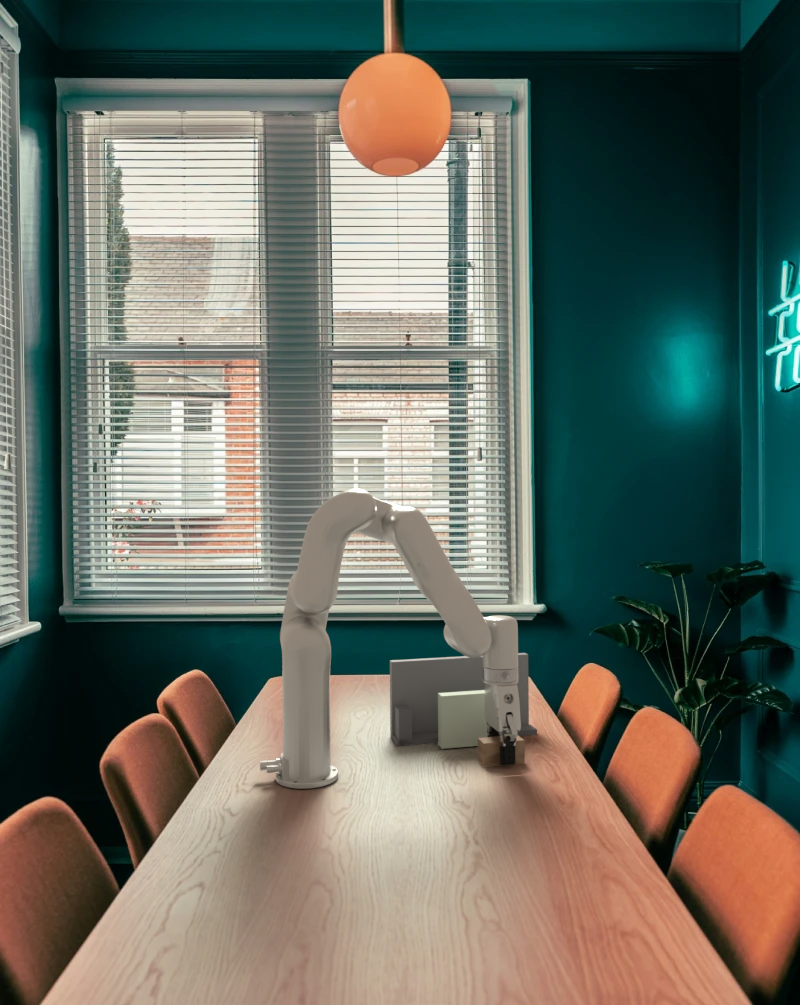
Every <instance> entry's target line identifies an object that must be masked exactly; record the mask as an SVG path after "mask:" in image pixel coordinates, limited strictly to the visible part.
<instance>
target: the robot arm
mask: <svg viewBox="0 0 800 1005" xmlns="http://www.w3.org/2000/svg"><path fill="white" fill-rule="evenodd" d="M354 533H357V534H361V535H363V536H366V537H369V538H372V539H375V540H378V541H382V542H385V543H388V544H393V546H394V548H395V549H396V551H397V553H398V555H399V557H400V558H401V560H402V562H403V563H404V566H405V567H406V570H407V571H408V573H409V575H410V577H411V579H412V581H413V583H414V584H415V586H416V588H417V589H418V590H419V592H420V593H421V595H423V596H424V597H425V599H427V601H428V602H430V603H431V604H432V606H433V607H434V608H435V610H436V611H437V612H438V614H439V616H440V617H441V618H442V620H443V621H444V624H445V625H444V628H443V637H444V640H445V641H446V643H447V645H448V646H450V648H452V649H454V650H455V651H457V652H459V653H460V654H462V656H466V657H469V658H478V657H481V656H482V659H483V682H484V683H485V699H484V712H485V720H486V723H487V725H488V727H487V734H490V735H487V737H495V736H500V738H501V744H502V746H500V764H501V765H500V766H513V765H516V764H515V746H516V737H517V734H518V733H517V732H518V731H520V729H521V721H520V703H519V694H518V687H517V683H518V653H519V631H518V630H519V627H518V621H517V619H516V618H515V617H513V616H509V615H499V614H498V615H496V614H495V615H489V616H484V615H483V614H482V612H481V610H480V608H479V606H478V604H477V603H476V601H475V599H474V598H473V596H472V594H471V592H469V590H468V589H467V587H466V586H465V584H464V583H463V580H462V579H461V578H460V576H459V575H458V573H457V572H456V571H455V569H454V567H453V566H452V564H451V562H450V560H449V559H448V556H447V555H446V553H445V551H444V549H443V548H442V546H441V544H440V541H439V540H438V538H437V536H436V535H435V532H434V530H433V529H432V526H431V525H430V523H429V521H428V519H427V518H426V516H425V515H424V514H423V513H422V512H421V511H420V510H419V509H417V508H415V507H413V506H402V505H398V504H394V503H391V502H387V501H384V500H382V499H379V498H376V497H374V496H373V495H372V494H371V493H370V492H369V491H367V490H365V489H362V488H351V489H346V490H343V491H341V492H340V493H338V494H336V495H334V496H332V497H331V498H330V497H329V499H327V500H326V501H325V502H324V503H323V504H321V505H320V506H319V507H318V509H317V510H316V511H315V512H314V513H313V515H312V517H311V518H310V519H309V521H308V524H307V526H306V529H305V532H304V535H303V539H302V540H303V541H302V546H301V550H300V553H299V559H298V564H297V570H296V571H295V572H294V573H293V574H292V576H291V577H290V580H289V583H288V586H287V592H286V597H285V602H284V608H283V609H284V610H283V613H282V620H281V627H280V632H279V641H280V647H281V655H282V656H281V658H282V660H281V662H282V665H281V667H282V671H281V672H282V674H281V675H282V677H281V685H282V688H281V697H282V699H281V700H282V701H281V702H282V752H281V753H280V757H276V758H275V759H273V760H272V759H271V760H269V759H267V760H265V759H264V760H262V759H261V760H259V771H266V774H273V773H275V775H274V777H275V779H274V780H275V781H276V783H277V784H279V786H282V787H285V788H290V789H297V790H298V789H299V790H301V789H302V790H304V789H305V790H306V789H315V788H316V789H317V788H321V787H326V786H328V785H330V784H333V783H334V782H336V780H338V779H339V770H338V768H337V767H336V766H334V765H332V764H331V758H332V757H331V663H332V662H331V660H332V645H331V640H330V636H329V634H328V633H327V630H326V629H327V623H328V618H329V612H330V609H331V608H332V607H333V606H334V604H335V602H336V601H337V597H338V589H339V588H338V587H339V579H340V573H341V568H342V567H341V566H342V561H343V558H344V557H343V556H344V552H345V547H346V545H347V542H348V540H349V539H350V537H351V536H352V535H353V534H354ZM503 728H508V729H509V730H503ZM504 734H509V736H507V737H506V739H505V736H504Z"/></svg>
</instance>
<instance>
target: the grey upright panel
mask: <svg viewBox="0 0 800 1005" xmlns="http://www.w3.org/2000/svg"><path fill="white" fill-rule="evenodd" d="M517 687H518V694H519V703H520V721H521V729H520V731H518V732H517V733H518V734H517V735H518V736H520V737H524V736H535V735H536V736H537V735H538V728H536V727H534V726H533V725H531V724H530V719H529V718H530V711H529V710H530V708H529V707H530V705H529V704H530V702H529V701H530V700H529V698H530V697H529V654H528V653H526V652H518V683H517ZM476 690H485V683H484V682H483V659H482V656H481V657H478V658H469V657H466V656H464V655H462V656H446V657H445V656H444V657H443V656H442V657H427V658H426V657H425V658H410V659H392V660H391V659H390V660H389V702H390V703H389V710H390V711H389V712H390V714H389V718H390V720H389V721H390V724H389V726H390V729H389V730H390V738H391V739H392V741H393V743H394V744H395V745H396V746H397V747H398V746H411V745H412V746H413V745H423V744H436V743H438V693H446V692H461V691H476Z"/></svg>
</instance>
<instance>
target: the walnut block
mask: <svg viewBox="0 0 800 1005" xmlns="http://www.w3.org/2000/svg"><path fill="white" fill-rule="evenodd" d="M507 736H509V735H507ZM507 736H505V739H506V737H507ZM500 746H502V744H501V738H500V736H495V737H483V738H478V746H477V761H478V763H479V764H481V765H482V766H483V767H484V768H489V767H498V766H502V765H501V764H500ZM525 755H526V754H525V739H523V738H522V736H518V735H517V737H516V746H515V764H514V765H521V764H525V757H526V756H525Z"/></svg>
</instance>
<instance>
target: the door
mask: <svg viewBox="0 0 800 1005" xmlns="http://www.w3.org/2000/svg"><path fill="white" fill-rule="evenodd" d="M484 699H485V690H476V691H461V692H446V693H438V744H437V745H438V746H439V747H440V749H442V750H445V749H454V748H455V749H456V748H467V747H469V748H470V747H478V738H483V737H487V735H490V734H487V727H488V725H487V723H486V720H485V712H484ZM503 730H509V729H508V728H503ZM507 735H509V734H504V736H507Z"/></svg>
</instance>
